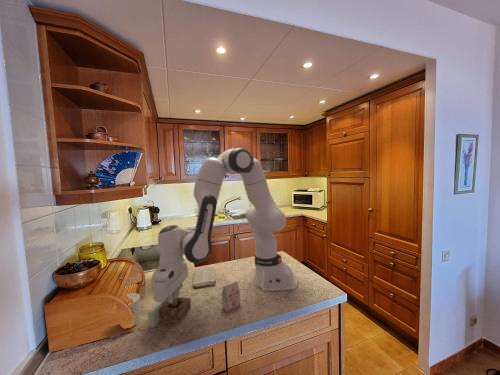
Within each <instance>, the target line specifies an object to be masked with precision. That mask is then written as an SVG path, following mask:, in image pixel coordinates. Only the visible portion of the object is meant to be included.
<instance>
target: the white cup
mask: <svg viewBox="0 0 500 375" xmlns="http://www.w3.org/2000/svg"><path fill="white" fill-rule="evenodd" d="M126 295H127V296H128V297H129V298H130V299H132V300H133V303H130V304H128V305H129V306H130V307H131V308H132V310H133V312H134V316H135V325H136V326H138V324H139V323H140V322H139V321H141V302H140V300H141V299H140V294H139V293H136V292H135V293H129V294H126Z"/></svg>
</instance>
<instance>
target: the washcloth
mask: <svg viewBox="0 0 500 375" xmlns="http://www.w3.org/2000/svg"><path fill="white" fill-rule="evenodd" d="M192 274H193V277H192V289H193V290H194V289H205V288H209V287H214V286H216V281H217V279H216V272H215V268H214V267H208V268H205V269H198V270H194V271H193V273H192Z"/></svg>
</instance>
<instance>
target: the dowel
mask: <svg viewBox="0 0 500 375" xmlns="http://www.w3.org/2000/svg"><path fill="white" fill-rule="evenodd" d="M172 297H174V301H173V303H171V307H172V308H176V307H178V297H179V296H178V295H177V289H176V290H175V291H174V292H173V294H172Z"/></svg>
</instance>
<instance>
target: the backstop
mask: <svg viewBox="0 0 500 375" xmlns="http://www.w3.org/2000/svg"><path fill="white" fill-rule="evenodd" d="M167 301H168V298H167V299H166V300H165V301H164V302H156V304H154V306H153V307H152V308H151V309H150V310H148V312H147V315H148V316H147V317H148V327H149V328H152V327H154V328H155V327H156V326H157V325H158V324H159V322H160V321H159V309H160V308H161V307H162V306H163V305H164V304H165V303H166V302H167ZM157 323H158V324H157ZM156 324H157V325H156Z"/></svg>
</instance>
